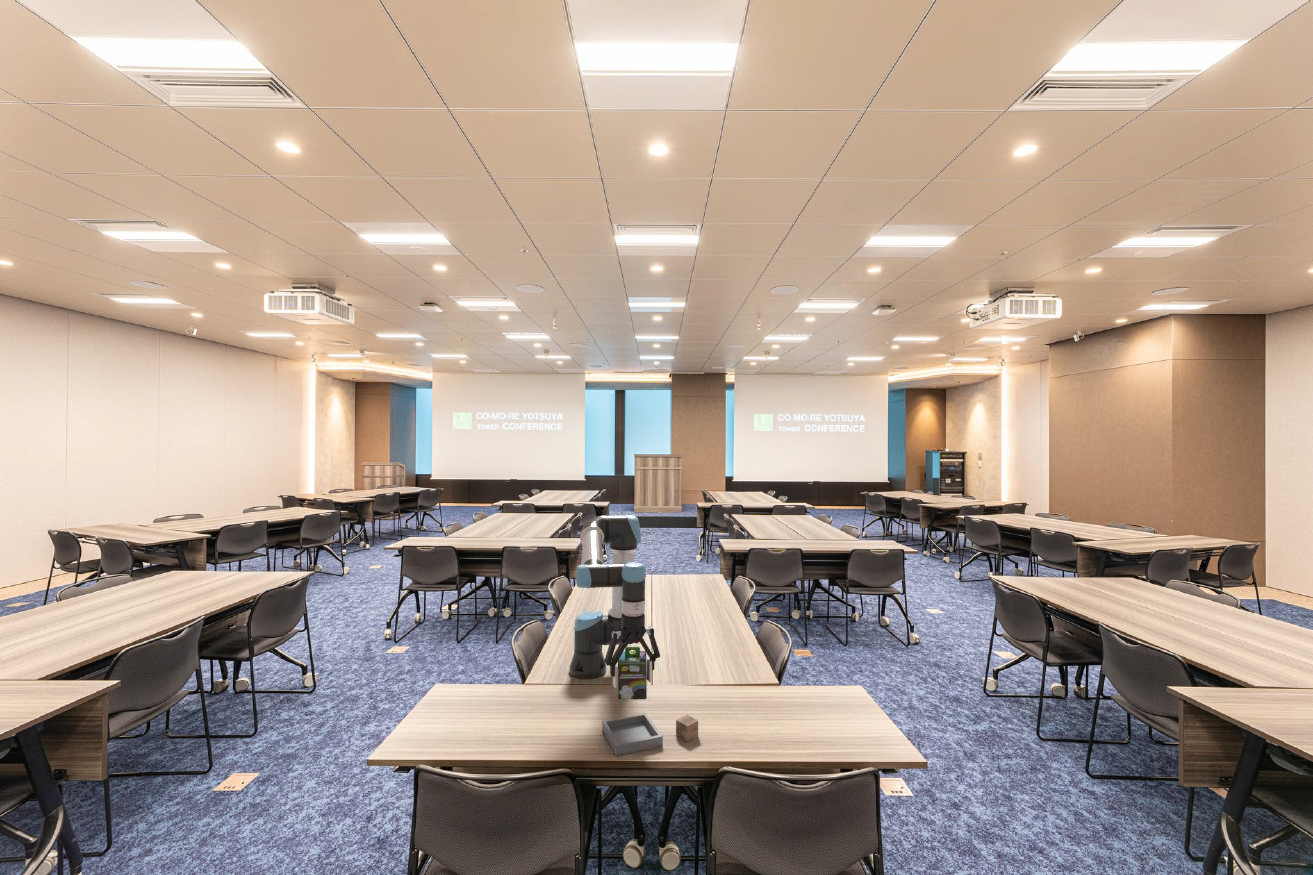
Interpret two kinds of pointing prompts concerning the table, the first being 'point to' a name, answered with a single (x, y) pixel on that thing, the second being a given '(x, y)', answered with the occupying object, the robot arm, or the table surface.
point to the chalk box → (632, 674)
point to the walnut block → (687, 728)
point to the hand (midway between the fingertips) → (632, 683)
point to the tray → (631, 734)
